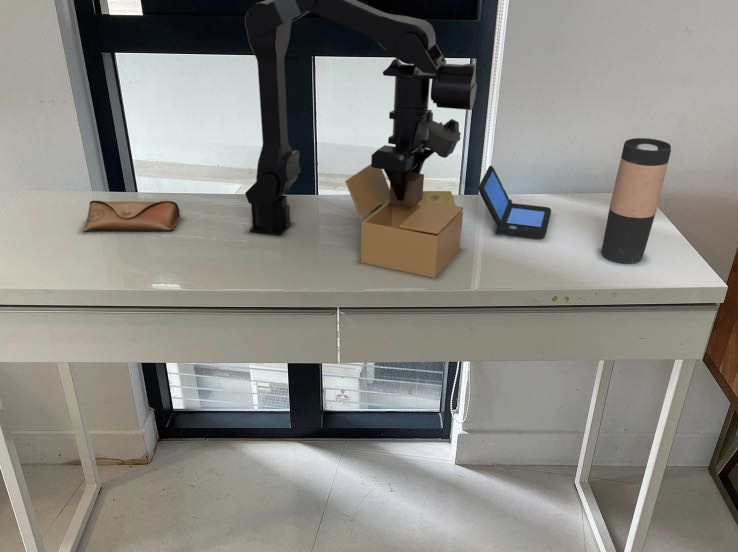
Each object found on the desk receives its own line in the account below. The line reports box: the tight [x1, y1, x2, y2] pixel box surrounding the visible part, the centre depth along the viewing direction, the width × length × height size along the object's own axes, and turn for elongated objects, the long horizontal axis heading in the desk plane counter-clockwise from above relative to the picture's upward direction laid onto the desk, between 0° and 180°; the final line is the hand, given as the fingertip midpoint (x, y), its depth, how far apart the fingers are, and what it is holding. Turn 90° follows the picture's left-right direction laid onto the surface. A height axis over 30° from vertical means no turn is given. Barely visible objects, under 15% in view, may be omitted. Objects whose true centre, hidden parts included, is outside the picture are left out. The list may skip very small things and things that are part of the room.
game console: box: [478, 165, 552, 240], centre depth 141 cm, size 16×14×9 cm
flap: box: [344, 163, 390, 220], centre depth 127 cm, size 7×13×1 cm
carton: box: [372, 190, 456, 214], centre depth 145 cm, size 8×16×4 cm, turn 88°
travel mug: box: [601, 137, 672, 265], centre depth 125 cm, size 8×8×20 cm
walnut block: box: [389, 172, 425, 207], centre depth 128 cm, size 5×5×5 cm
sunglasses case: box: [82, 200, 181, 233], centre depth 142 cm, size 18×7×7 cm, turn 91°
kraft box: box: [360, 201, 464, 279], centre depth 128 cm, size 14×13×8 cm
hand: (405, 195), depth 129 cm, fingers closed on walnut block, 4 cm apart
